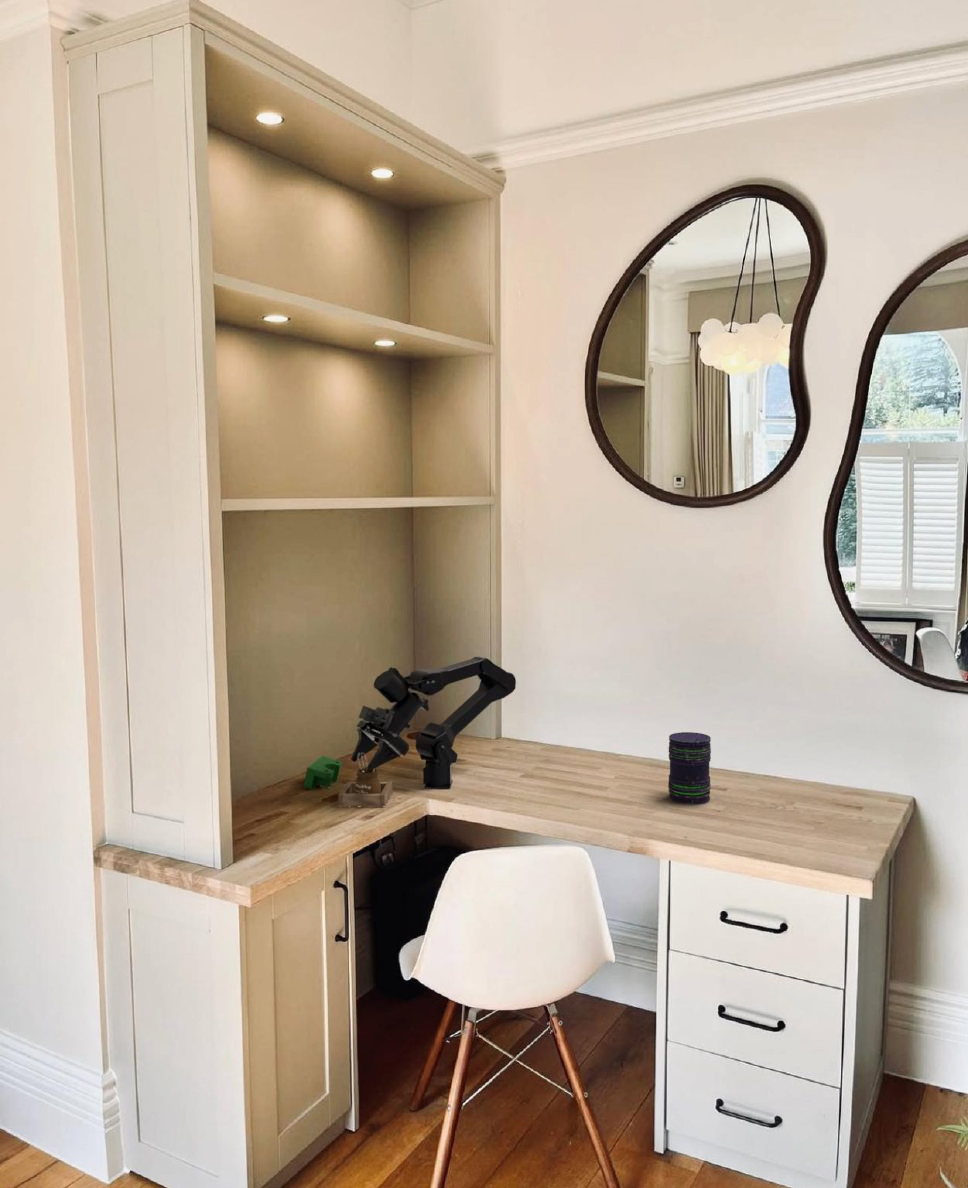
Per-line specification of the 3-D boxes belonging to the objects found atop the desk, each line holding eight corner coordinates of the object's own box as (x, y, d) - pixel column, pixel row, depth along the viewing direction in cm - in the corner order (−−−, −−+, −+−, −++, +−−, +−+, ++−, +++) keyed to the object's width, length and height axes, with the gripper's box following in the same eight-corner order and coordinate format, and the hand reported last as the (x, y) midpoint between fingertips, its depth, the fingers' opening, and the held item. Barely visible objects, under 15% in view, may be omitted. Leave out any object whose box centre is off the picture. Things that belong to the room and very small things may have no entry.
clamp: (324, 805, 251) (327, 778, 246) (302, 799, 251) (304, 771, 247) (342, 776, 261) (345, 749, 256) (321, 769, 262) (323, 742, 257)
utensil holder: (368, 793, 243) (366, 745, 242) (387, 798, 240) (385, 749, 238) (350, 800, 239) (349, 750, 238) (369, 804, 235) (368, 754, 234)
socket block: (392, 795, 245) (392, 781, 245) (385, 809, 234) (384, 795, 234) (348, 795, 246) (347, 781, 245) (338, 809, 235) (338, 794, 235)
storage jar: (660, 795, 241) (660, 734, 240) (695, 790, 245) (696, 730, 243) (682, 806, 232) (682, 743, 230) (718, 802, 235) (719, 739, 234)
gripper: (363, 687, 248) (322, 736, 243) (396, 699, 232) (353, 753, 227) (392, 714, 252) (353, 764, 248) (427, 728, 236) (385, 781, 232)
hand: (360, 765), depth 238 cm, fingers open, 9 cm apart
